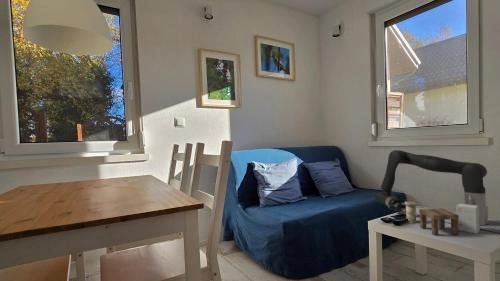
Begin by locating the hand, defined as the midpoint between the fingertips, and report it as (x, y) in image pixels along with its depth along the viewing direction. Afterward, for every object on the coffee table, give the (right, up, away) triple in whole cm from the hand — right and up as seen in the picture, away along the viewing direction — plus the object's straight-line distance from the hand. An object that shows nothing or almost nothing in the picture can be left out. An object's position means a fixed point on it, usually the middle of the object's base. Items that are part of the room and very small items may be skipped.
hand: (407, 209), depth 157 cm
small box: (+19, -6, -20) cm, 29 cm away
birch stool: (0, -6, -4) cm, 7 cm away
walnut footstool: (+4, -6, -20) cm, 21 cm away
